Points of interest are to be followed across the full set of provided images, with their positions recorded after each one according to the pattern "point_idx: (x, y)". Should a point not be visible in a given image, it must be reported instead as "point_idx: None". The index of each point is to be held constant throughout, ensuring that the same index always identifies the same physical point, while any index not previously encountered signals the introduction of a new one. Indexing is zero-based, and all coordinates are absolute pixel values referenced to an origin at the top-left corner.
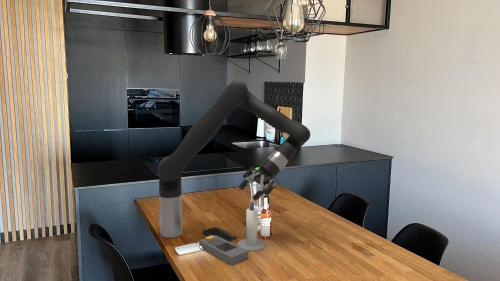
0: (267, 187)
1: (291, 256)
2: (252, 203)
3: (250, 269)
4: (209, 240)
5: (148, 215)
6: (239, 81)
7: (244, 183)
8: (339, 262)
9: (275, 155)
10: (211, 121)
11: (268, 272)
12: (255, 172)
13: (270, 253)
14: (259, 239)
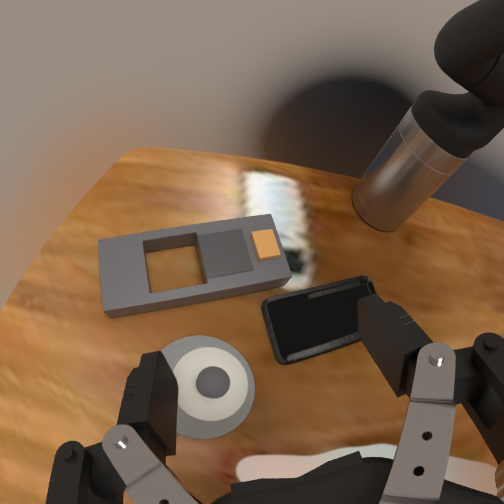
0: (65, 498)
1: (58, 446)
2: (197, 378)
3: (55, 285)
4: (251, 237)
5: (474, 212)
6: None
7: (388, 342)
8: None
9: None
10: None
11: (17, 317)
12: (472, 502)
13: (106, 406)
14: (223, 433)
